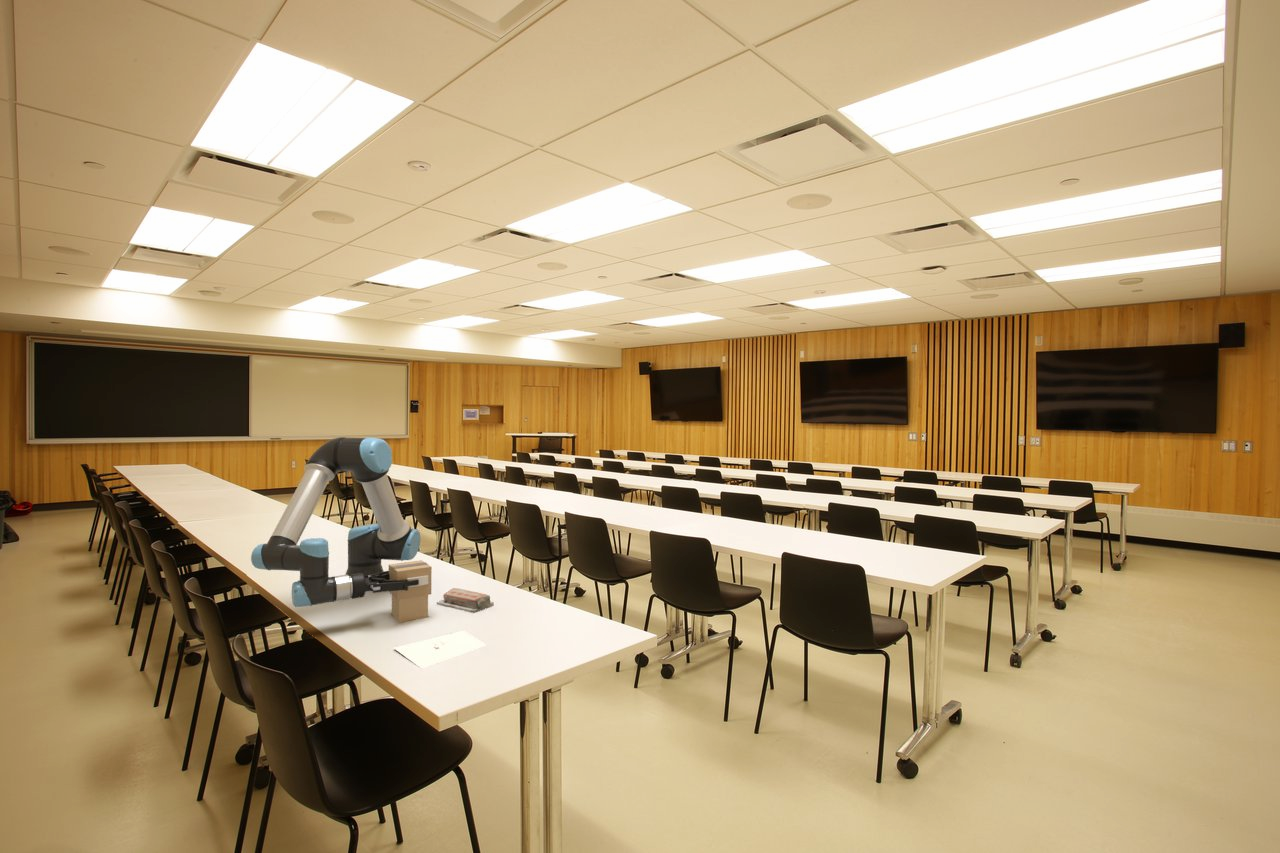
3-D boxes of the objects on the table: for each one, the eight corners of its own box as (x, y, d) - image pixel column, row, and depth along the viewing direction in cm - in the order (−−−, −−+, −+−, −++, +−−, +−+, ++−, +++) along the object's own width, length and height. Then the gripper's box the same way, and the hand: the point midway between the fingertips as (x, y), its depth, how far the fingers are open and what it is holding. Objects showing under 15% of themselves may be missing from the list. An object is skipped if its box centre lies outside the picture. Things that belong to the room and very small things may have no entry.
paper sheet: (471, 631, 183) (471, 628, 183) (514, 666, 160) (514, 662, 160) (391, 648, 168) (391, 644, 168) (426, 689, 146) (426, 685, 146)
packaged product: (495, 592, 207) (473, 600, 199) (494, 606, 207) (473, 614, 199) (458, 584, 216) (436, 591, 208) (457, 598, 216) (436, 605, 208)
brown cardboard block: (388, 591, 196) (388, 564, 196) (421, 586, 203) (421, 559, 202) (397, 600, 188) (397, 571, 188) (431, 594, 194) (431, 566, 194)
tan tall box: (391, 614, 196) (391, 566, 196) (419, 609, 202) (419, 562, 201) (399, 622, 189) (399, 572, 189) (427, 617, 194) (428, 568, 194)
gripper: (342, 589, 194) (412, 579, 207) (358, 608, 175) (433, 595, 188) (342, 566, 193) (412, 557, 207) (358, 583, 175) (434, 572, 188)
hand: (422, 575), depth 198 cm, fingers closed on brown cardboard block, 11 cm apart
